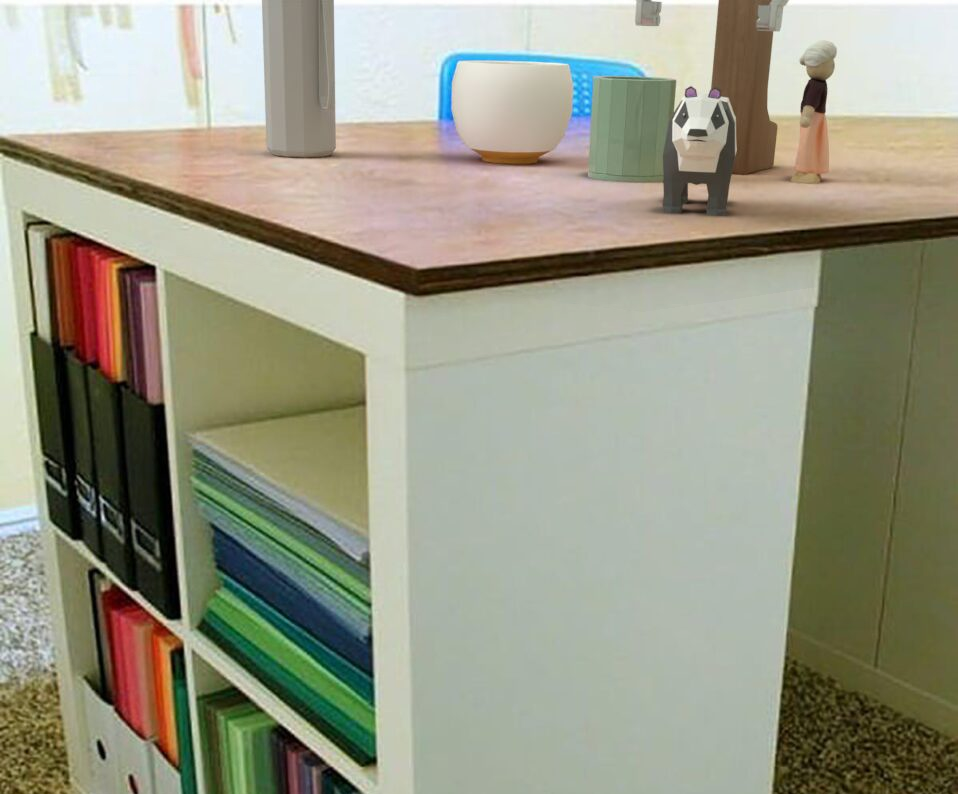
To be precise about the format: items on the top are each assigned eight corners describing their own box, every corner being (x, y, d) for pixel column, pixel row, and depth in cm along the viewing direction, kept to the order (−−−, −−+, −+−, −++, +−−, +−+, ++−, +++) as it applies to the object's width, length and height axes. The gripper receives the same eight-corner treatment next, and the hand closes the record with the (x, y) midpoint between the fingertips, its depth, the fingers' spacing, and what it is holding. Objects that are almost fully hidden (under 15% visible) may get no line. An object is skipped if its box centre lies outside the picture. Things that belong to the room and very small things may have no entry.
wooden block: (733, 164, 136) (750, -20, 130) (774, 168, 134) (794, -19, 128) (702, 172, 129) (719, -23, 123) (745, 175, 127) (765, -23, 120)
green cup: (678, 177, 124) (686, 78, 121) (653, 185, 118) (660, 81, 115) (604, 171, 127) (610, 75, 124) (575, 178, 121) (580, 77, 118)
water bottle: (249, 154, 134) (239, -113, 125) (312, 150, 139) (306, -106, 130) (300, 162, 128) (294, -118, 119) (364, 158, 133) (362, -111, 124)
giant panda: (665, 198, 109) (674, 79, 106) (731, 201, 108) (743, 81, 105) (652, 223, 96) (662, 87, 92) (728, 227, 95) (740, 90, 91)
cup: (425, 159, 133) (426, 60, 130) (508, 153, 142) (511, 60, 138) (512, 171, 125) (516, 65, 122) (594, 163, 134) (599, 65, 130)
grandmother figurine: (831, 186, 120) (848, 41, 116) (789, 184, 121) (804, 40, 116) (823, 177, 128) (839, 40, 123) (784, 175, 128) (798, 39, 124)
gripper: (881, -174, 91) (853, 34, 96) (609, -169, 99) (596, 23, 104) (865, -187, 86) (836, 34, 91) (579, -181, 94) (567, 22, 99)
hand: (706, 28), depth 98 cm, fingers open, 8 cm apart
